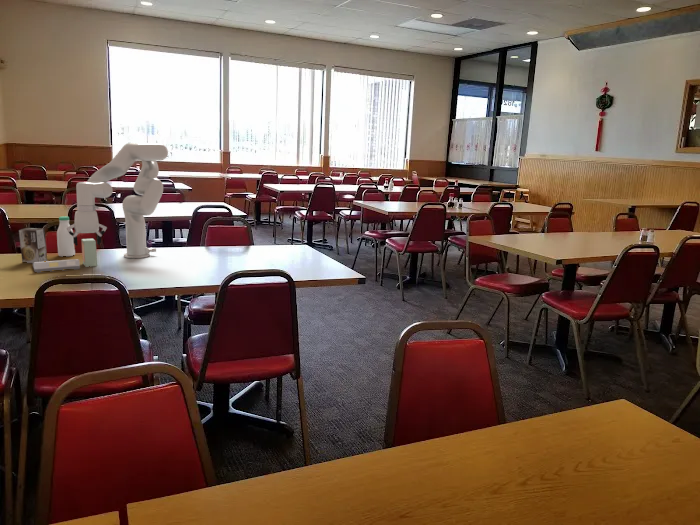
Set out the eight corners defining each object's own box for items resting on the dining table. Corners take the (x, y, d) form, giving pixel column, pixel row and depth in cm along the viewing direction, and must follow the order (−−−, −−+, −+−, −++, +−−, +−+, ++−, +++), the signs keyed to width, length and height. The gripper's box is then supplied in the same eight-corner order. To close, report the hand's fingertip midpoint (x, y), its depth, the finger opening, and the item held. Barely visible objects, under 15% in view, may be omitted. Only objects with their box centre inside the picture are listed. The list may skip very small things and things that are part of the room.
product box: (94, 262, 265) (93, 238, 262) (97, 265, 258) (95, 241, 256) (82, 263, 262) (81, 239, 260) (85, 266, 256) (83, 241, 253)
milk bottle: (74, 256, 277) (71, 217, 273) (57, 257, 274) (54, 217, 270) (75, 253, 284) (73, 215, 280) (59, 254, 281) (56, 216, 277)
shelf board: (75, 262, 263) (74, 253, 262) (79, 269, 251) (79, 259, 250) (32, 266, 253) (31, 256, 252) (35, 272, 241) (34, 262, 240)
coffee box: (48, 261, 265) (45, 228, 262) (39, 263, 259) (36, 230, 255) (30, 260, 266) (27, 227, 262) (21, 262, 259) (18, 229, 256)
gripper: (104, 208, 262) (105, 243, 265) (64, 208, 253) (66, 244, 256) (107, 209, 256) (108, 245, 259) (66, 209, 247) (68, 246, 250)
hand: (87, 244), depth 258 cm, fingers open, 9 cm apart
